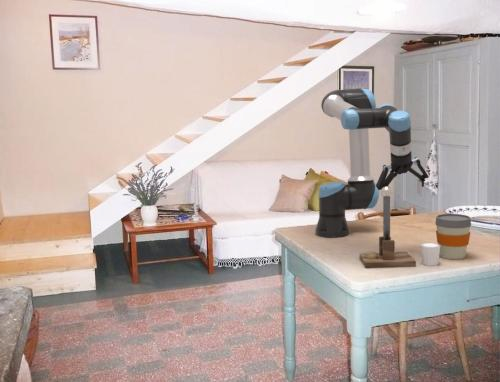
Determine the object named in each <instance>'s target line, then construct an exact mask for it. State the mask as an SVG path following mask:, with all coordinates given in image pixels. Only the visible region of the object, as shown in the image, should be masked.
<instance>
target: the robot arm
mask: <svg viewBox="0 0 500 382" xmlns="http://www.w3.org/2000/svg"><path fill="white" fill-rule="evenodd" d="M375 98H376V97H375V95H374V93H373V92H372V91H371V90H370V89H369V88H352V89H351V88H350V89H348V88H347V89H335V90H332V91H330V92H328V93H327V94H326V95H324V97H323V98H322V100H321V103H320V105H321V106H320V107H321V110H322V112H323V113H324V114H325V115H326V116H327V117H330V118H335V119H338V120H339V121H340V123H341V127H342V128H343V129H344V130H348V135H349V136H348V140H349V143H348V144H349V160H350V163H349V164H350V177H349V178H348V179H347V184H346V183H345V182H344V181H340V180H339V181H331V182H330V181H329V182H326V183H323V184H321V185H320V186H319V188H318V216H319V217H318V220H317V223H316V227H315V234H316V235H317V236H318V237H324V238H342V237H345V236H348V235H350V227H349V224H348V221H347V219H346V211H352V210H368V209H373V208H375V207H376V205H377V203H378V201H379V199H380V191H381V190H382V188H383V187H386V186H388V187H389V185H390V184H391V183H392V181H393V180H394V179H395V178H396V177H397V176H398V175H402V174H407V173H408V172H409V173H411V174H412V175H413V176H415V177H416V190H417V194H418V195H419V197H420V196H423V187H424V186H425V181H426V179H429V174H428V173H427V172H426V170H425V168H424V167H423V166H422V165H421V160H420V158H419V157H418V156H416V157H414V158H412V157H413V156H412V155H413V154H412V133H411V132H412V131H411V130H412V129H411V128H412V122H411V121H412V120H411V115H410V113H408V112H407V111H404V110H398V109H397V108H396V107H395V106H394V105H392V104H390V103H383V104H381V105H379V106H378V107H377V106H376V105H377V104H376V99H375ZM382 128H383V129H385V130H386V131H388V133H389V146H390V147H389V148H390V149H389V150H390V165H386V164H383V165H382V171H381V173H380V176H379V178H378V180H377V182H375V181H374V180H375V179H374V178H373V177H372V176H371V164H370V140H369V139H370V137H369V129H382ZM413 165H416V166H417V168H418V170H419V171H420V172H421V173H422V174H420V172H418V171H416V170H415V169H414V168H413V167H412V166H413Z"/></svg>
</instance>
